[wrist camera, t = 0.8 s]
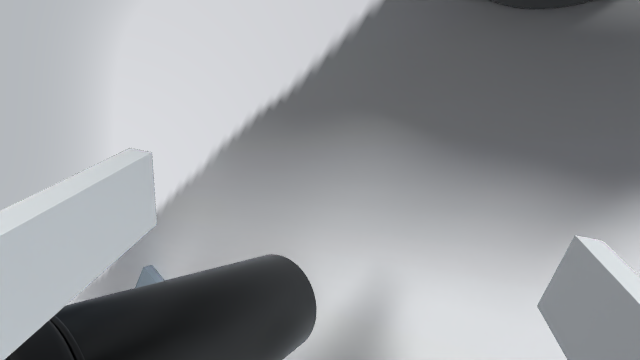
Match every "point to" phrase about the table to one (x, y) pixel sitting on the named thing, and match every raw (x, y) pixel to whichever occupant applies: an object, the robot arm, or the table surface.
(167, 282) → the water bottle
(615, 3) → the table surface
